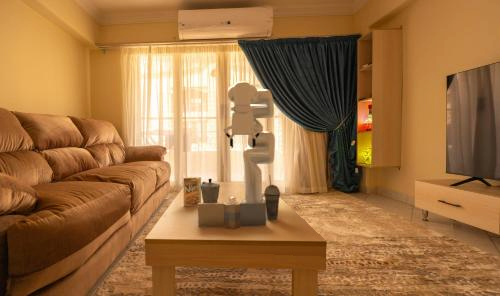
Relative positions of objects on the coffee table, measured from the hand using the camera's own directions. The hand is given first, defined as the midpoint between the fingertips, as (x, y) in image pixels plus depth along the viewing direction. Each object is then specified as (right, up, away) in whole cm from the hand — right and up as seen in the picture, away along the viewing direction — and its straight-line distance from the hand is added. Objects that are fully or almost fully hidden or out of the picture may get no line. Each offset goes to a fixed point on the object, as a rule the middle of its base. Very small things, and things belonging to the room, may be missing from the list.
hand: (242, 147), depth 123 cm
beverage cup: (+13, -33, -2) cm, 35 cm away
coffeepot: (-16, -33, +4) cm, 36 cm away
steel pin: (-4, -33, -11) cm, 35 cm away
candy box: (-28, -32, +25) cm, 49 cm away
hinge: (-4, -33, -11) cm, 35 cm away
